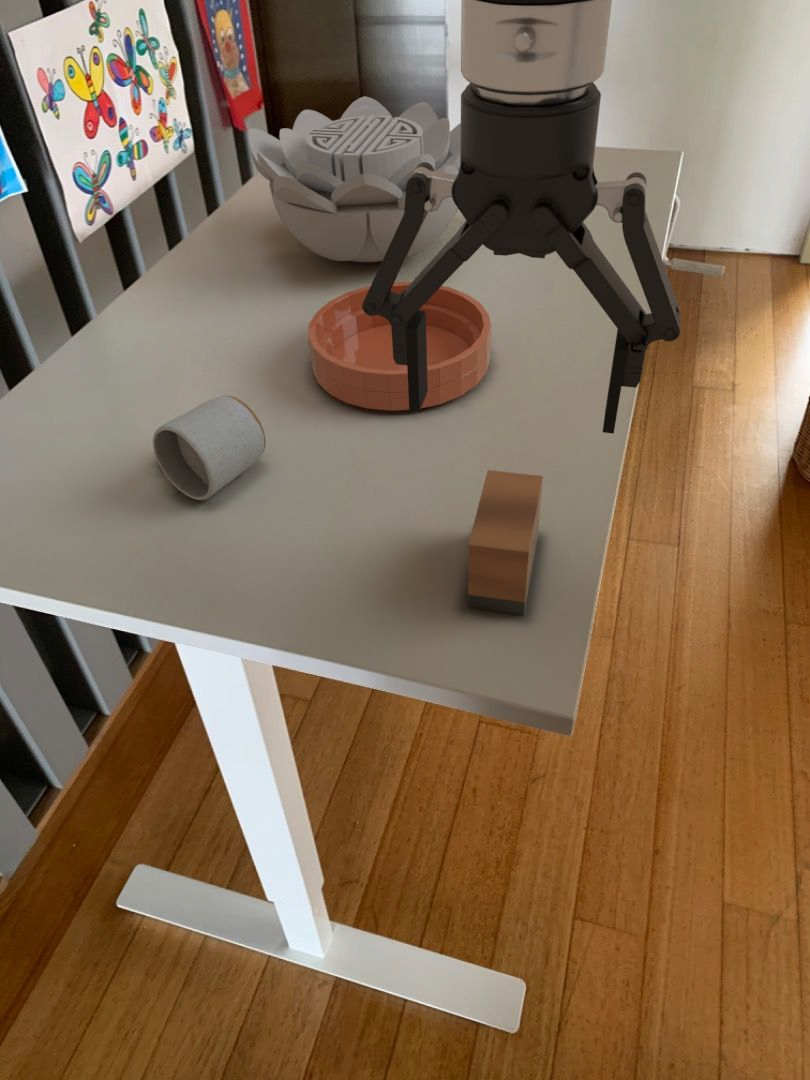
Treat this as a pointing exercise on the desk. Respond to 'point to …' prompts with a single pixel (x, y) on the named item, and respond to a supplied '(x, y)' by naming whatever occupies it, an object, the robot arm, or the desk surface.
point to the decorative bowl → (356, 176)
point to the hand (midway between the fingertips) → (511, 411)
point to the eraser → (504, 542)
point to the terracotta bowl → (367, 354)
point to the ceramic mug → (209, 446)
